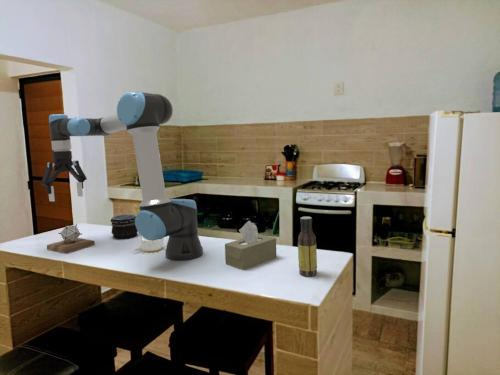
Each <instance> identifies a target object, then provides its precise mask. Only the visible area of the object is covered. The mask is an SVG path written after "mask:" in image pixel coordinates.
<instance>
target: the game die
mask: <svg viewBox="0 0 500 375" xmlns="http://www.w3.org/2000/svg"><path fill="white" fill-rule="evenodd" d="M77 226H78V224H75V225H67V224H65V227H64V228H63V229H62V231H61V232H58V233H57V234H59V235H60V236H61V237H62V239H63V240H64V241H65V242H74V243H75V240H76V239H77V238H80V236H81V235H83V233H81V232H80V231H79V229H78V227H77ZM65 242H64V243H65Z"/></svg>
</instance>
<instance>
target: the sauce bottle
mask: <svg viewBox="0 0 500 375" xmlns="http://www.w3.org/2000/svg"><path fill="white" fill-rule="evenodd" d="M299 222H300V232H299V234H298V236H297V257H298V268H299V271H298V272H299V274H300V275H301V276H302V277H306V278H307V277H313V276H316V275H317V273H318V272H317V271H318V270H317V269H318V257H317V240H316V239H317V237H316V234H315V233H314V232H313V218H312V217H311V216H307V215H306V216H302V217H300V218H299Z"/></svg>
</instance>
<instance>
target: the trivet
mask: <svg viewBox="0 0 500 375" xmlns="http://www.w3.org/2000/svg"><path fill="white" fill-rule="evenodd" d="M64 242H65V241H64V239H63V240H60V241H57V242H52V243H49V244H46V250H48V251H52V252H58V253H61V254H70V253H73V252H76V251H79V250H83V249H87V248H89V247H93V246H95V245H96V243H95V240H92V239H88V238H82V237H78V238H77V239H76V240H75V243H74V242H65V243H64Z"/></svg>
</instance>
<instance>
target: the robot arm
mask: <svg viewBox="0 0 500 375" xmlns="http://www.w3.org/2000/svg"><path fill="white" fill-rule="evenodd" d="M119 98H120V99H119V100H118V102H117V106H116V113H113V114H110V115H106V116H103V117H99V118H84V117H71V118H70V117H69V115H68V114H62V113H61V114H60V113H59V114H58V113H57V114H53V113H52V114H50V115H49V116H48V126H49V134H50V143H51V151H52V152H51V153H52V160H53V162H46V164H45V165H46V168H45V171H44V174H43V177H42V180H41V182H40V185H41V186H44V187H45V188H46V194H47V195H48V199H49V201H48V202H55V201H56V199H55V188H54V186H53V184H54V182H55V181H56V179H57V177H58V176H59V174H61V173H65V172H66V173H67V172H68V173H69V174H70V175H72V177H73V178H74V179H75V180H77V182H76V192H77V197H84V194H83V189H84V182H85V181H87V179H88V178H87V176H86V174H85V172H84V171H83V169H82V167H81V166H80V162H79V160H73V155H72V154H73V153H72V144H71V137H90V136H91V137H94V136H99V137H107V136H112V135H113V133H117V132H118V133H119V132H121V131H125V130H126V131H127V133H128V134H130V135H131V136H132V142H133V149H134V155H135V161H136V166H137V168H136V169H137V172H138V178H139V185H140V192H141V196H142V198H141V203H139V206H138V207H139V212H138V213H137V214H136V218H135V225H136V228H137V231H138V232H137V233H138V234H139V235H140V236H141V237H142V238H143V239H145V240H147V241H152V242H154V241H159V240H162V239H164V238H167V237H168V241H167V242H166V243H167V244H166V249H165V258H167V259H169V260H172V261H188V260H192V259H193V260H194V259H196V258H200V257H201V256H202V255H203V254H204V250H203V249H204V248H203V246H202V243H201V240H200V238H199V237H200V236H199V232H198V212H197V211H198V208H197V203H196V201H195V200H194V199H189V198H188V199H186V198H169V197H167V193H166V186H165V180H164V174H163V173H164V172H163V167H162V161H161V156H160V155H161V154H160V148H159V142H158V138H157V137H158V136H157V132H158V131H159V129H160V128H161V127H160V126H161V125H164V124H166V123H168V122H169V121H170V120H171V119H172V116H173V111H174V110H173V105H172V103H171V101H170V100H169V99H168V98H167V97H166V96H164V95H162V94H159V93H152V92H151V93H149V92H143V91H128V92H125V93H124V94H122V96H121V97H119Z"/></svg>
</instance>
